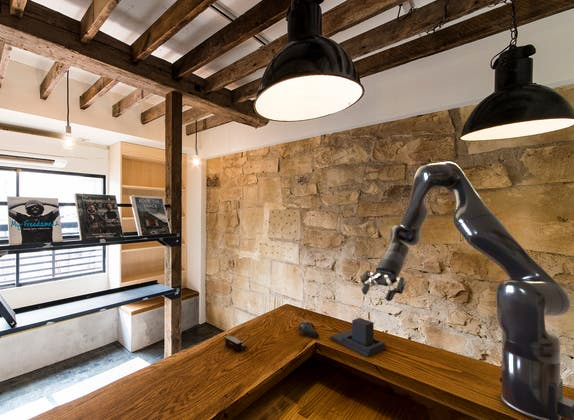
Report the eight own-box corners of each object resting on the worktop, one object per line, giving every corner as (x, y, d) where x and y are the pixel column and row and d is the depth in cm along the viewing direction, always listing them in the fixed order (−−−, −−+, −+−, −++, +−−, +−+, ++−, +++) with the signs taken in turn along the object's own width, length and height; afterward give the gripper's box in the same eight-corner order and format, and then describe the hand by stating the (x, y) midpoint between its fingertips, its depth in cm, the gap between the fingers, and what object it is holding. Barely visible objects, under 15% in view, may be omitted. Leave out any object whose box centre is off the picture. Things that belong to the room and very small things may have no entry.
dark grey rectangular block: (373, 344, 96) (373, 322, 96) (365, 347, 94) (365, 325, 94) (359, 338, 100) (359, 317, 100) (352, 341, 98) (352, 320, 98)
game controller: (321, 336, 102) (309, 324, 103) (310, 345, 103) (299, 333, 104) (315, 325, 112) (304, 315, 112) (305, 333, 112) (295, 323, 113)
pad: (386, 348, 95) (386, 341, 95) (367, 357, 90) (367, 350, 90) (348, 332, 108) (349, 326, 108) (330, 339, 102) (330, 333, 102)
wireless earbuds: (239, 354, 91) (239, 344, 91) (224, 345, 97) (224, 337, 97) (247, 349, 94) (247, 340, 94) (232, 341, 100) (232, 333, 100)
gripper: (368, 255, 111) (353, 286, 106) (408, 261, 99) (392, 296, 93) (375, 266, 114) (360, 296, 108) (414, 273, 101) (399, 308, 96)
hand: (375, 296), depth 101 cm, fingers open, 8 cm apart
